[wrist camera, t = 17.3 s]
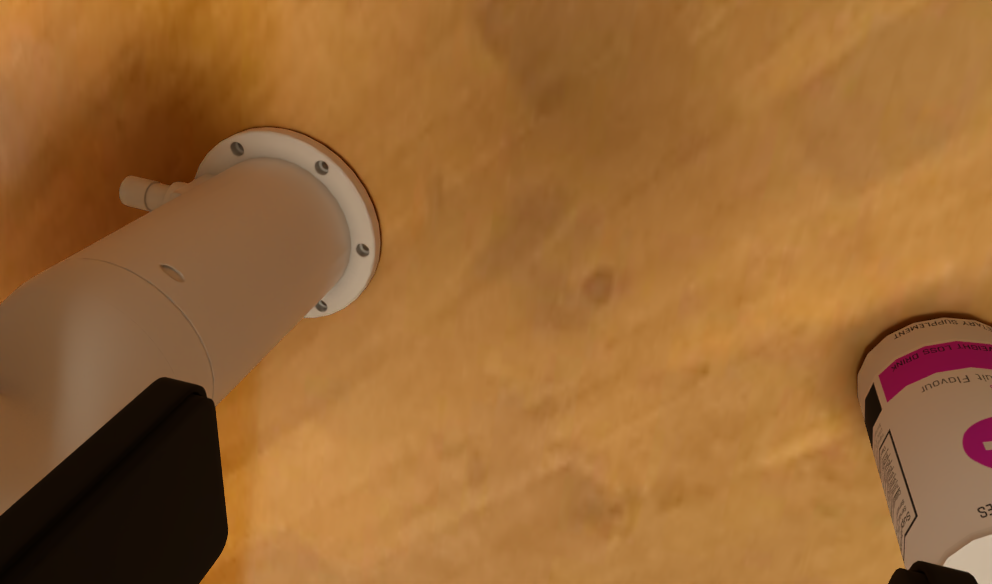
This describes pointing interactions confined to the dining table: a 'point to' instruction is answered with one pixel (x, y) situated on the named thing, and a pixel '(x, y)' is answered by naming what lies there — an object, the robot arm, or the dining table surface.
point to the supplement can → (934, 439)
